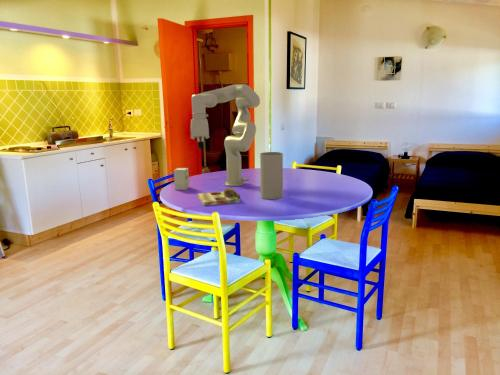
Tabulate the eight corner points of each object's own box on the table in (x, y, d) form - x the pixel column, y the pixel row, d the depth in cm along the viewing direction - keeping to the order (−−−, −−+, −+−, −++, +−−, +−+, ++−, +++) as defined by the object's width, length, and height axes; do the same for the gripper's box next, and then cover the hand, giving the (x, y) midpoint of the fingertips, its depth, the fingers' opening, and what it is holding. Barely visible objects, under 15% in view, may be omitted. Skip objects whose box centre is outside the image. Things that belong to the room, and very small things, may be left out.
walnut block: (231, 194, 235) (231, 188, 235) (233, 196, 231) (233, 190, 230) (223, 195, 234) (223, 189, 233) (225, 196, 230) (225, 190, 229)
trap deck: (231, 194, 244) (231, 187, 243) (240, 202, 226) (239, 195, 225) (197, 197, 239) (197, 190, 238) (203, 205, 220) (203, 198, 219)
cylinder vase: (268, 193, 244) (268, 151, 238) (286, 196, 237) (286, 152, 231) (256, 198, 234) (255, 154, 228) (275, 201, 227) (275, 155, 221)
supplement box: (185, 190, 257) (184, 170, 254) (174, 189, 258) (173, 169, 255) (189, 187, 264) (188, 167, 261) (178, 187, 265) (177, 167, 262)
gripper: (210, 115, 242) (212, 147, 246) (185, 116, 238) (186, 148, 242) (213, 116, 235) (214, 148, 239) (186, 117, 231) (188, 150, 235)
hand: (200, 148), depth 240 cm, fingers closed
